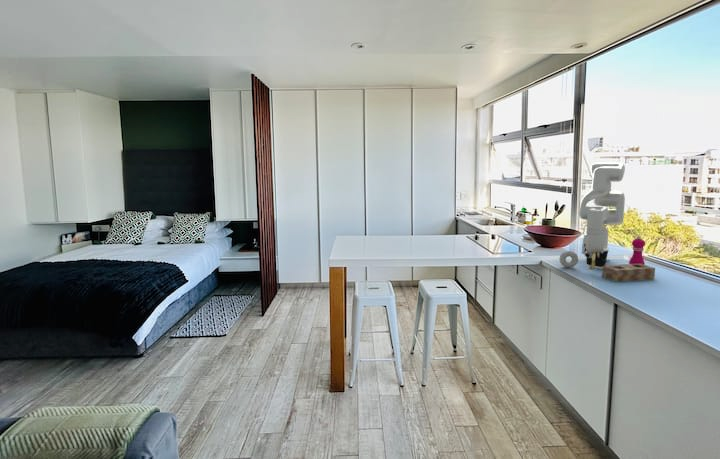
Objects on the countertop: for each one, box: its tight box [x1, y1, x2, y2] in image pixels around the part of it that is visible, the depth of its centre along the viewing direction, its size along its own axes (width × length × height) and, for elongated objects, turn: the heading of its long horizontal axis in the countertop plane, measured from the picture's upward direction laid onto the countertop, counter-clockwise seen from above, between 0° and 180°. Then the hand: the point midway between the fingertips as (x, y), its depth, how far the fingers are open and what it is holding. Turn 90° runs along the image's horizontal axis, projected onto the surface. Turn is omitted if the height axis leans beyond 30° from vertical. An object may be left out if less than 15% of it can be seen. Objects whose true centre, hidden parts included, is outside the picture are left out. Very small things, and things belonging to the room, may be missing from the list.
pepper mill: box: [628, 235, 646, 265], centre depth 229 cm, size 7×7×20 cm
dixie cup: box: [595, 247, 609, 270], centre depth 240 cm, size 8×8×11 cm
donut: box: [559, 250, 579, 268], centre depth 241 cm, size 10×4×10 cm, turn 76°
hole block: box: [601, 263, 656, 283], centre depth 218 cm, size 22×10×6 cm, turn 99°
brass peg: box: [588, 252, 596, 270], centre depth 228 cm, size 3×3×10 cm
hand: (592, 264), depth 228 cm, fingers closed on brass peg, 3 cm apart
